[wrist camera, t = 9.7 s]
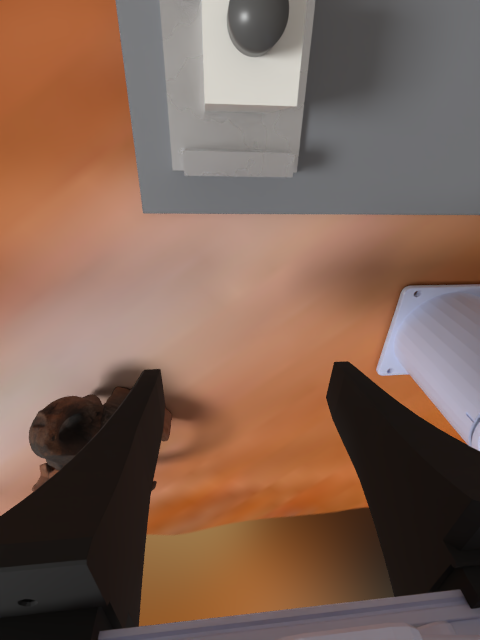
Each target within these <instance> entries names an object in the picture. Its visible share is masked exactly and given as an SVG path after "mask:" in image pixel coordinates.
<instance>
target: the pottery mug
mask: <svg viewBox="0 0 480 640" xmlns="http://www.w3.org/2000/svg"><path fill="white" fill-rule="evenodd" d="M130 391H131V390H129V389H126V388H122V387H116V388H115V390H114V391H113V393H112V395H111V397H109V398H108V400H107V402H106V403H105V404H104V405H102V403H101V401H100V399H99V398H98V397H97V396H95V395H93V394H92V395H87V396H85V397H83V398H81V397H77V396H69V397H63V398H60V399H58V400H56V401H54V402H52V403H50V404H49V405H48V406H46V407H45V408H44V409H43V410H41V411H39V412H38V414H37V416H36V417H35V419H34V420H33V423H32V425H31V427H30V430H29V442H30V446H31V448H32V450H33V452H34V453H35V454H36V455H38V456H39V457H41V458H45V459H46V462H47V463H45V464H42V465H40V471H41V476H40V478H39V480H38V482H37V483H36V484H35V485H34V486H33V488H32V491H35V490H37V489H38V488H39V487H40V486H41V485H43V484H44V483H45V482H46V481H47V480H49V479H50V478H51V477H52V476H53V475H55V474H56V473H57V472H58V471H59V470H60V469H62V468H63V467H64V466H65V465H66V464H67V463H68V462H69V461H70V460H71V459H72V458H73V457H74V456H75V455H76V454H78V453H79V452H80V451H81V450H82V449H83V448H84V447H85V446H86V445H87V443H88V442H89V441H90V440H91V439H92V438H93V437H94V436H95V435H96V434H97V433H98V432H99V430H100V429H101V428H102V427H103V426H104V425H105V423H106V422H107V421H108V420H109V419H110V417H111V416H112V415H113V414H114V412H115V411H116V410H117V409H118V407H119V406H120V404H121V403H122V402H123V400H124V399H125V398H126V396H127V395H128V393H129V392H130ZM171 420H172V415H171V413H170V412H169V411H168V410H167V409H166V408H165V417H164V428H163V434H162V439H161V440H162V441H167V440H168V438H169V435H170V428H171ZM156 483H157V482H156V481H153V483H152V489H151V491H152V490H153V489H154V488H155V487H156Z"/></svg>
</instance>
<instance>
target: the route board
mask: <svg viewBox="0 0 480 640" xmlns="http://www.w3.org/2000/svg"><path fill="white" fill-rule="evenodd" d="M116 7H117V15H118V23H119V30H120V38H121V46H122V53H123V61H124V69H125V77H126V84H127V92H128V100H129V107H130V115H131V123H132V131H133V138H134V146H135V154H136V161H137V169H138V177H139V185H140V192H141V200H142V208H143V213H183V214H389V215H480V0H315V9H314V18H313V27H312V37H311V46H310V55H309V64H308V73H307V83H306V92H305V101H304V110H303V119H302V129H301V138H300V147H299V156H298V165H297V173H293V177H233V176H184V171H180V170H173V169H172V156H171V143H170V130H169V117H168V104H167V91H166V78H165V65H164V52H163V39H162V26H161V13H160V1H159V0H116Z"/></svg>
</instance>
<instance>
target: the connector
mask: <svg viewBox="0 0 480 640" xmlns="http://www.w3.org/2000/svg"><path fill="white" fill-rule="evenodd" d="M201 2H202V34H203V67H204V99H205V111H214V112H248V113H271V112H275V111H279V110H283V109H288V108H292V107H296V106H297V99H298V89H299V78H300V68H301V57H302V47H303V36H304V25H305V15H306V4H307V0H201Z"/></svg>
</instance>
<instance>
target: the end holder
mask: <svg viewBox="0 0 480 640" xmlns="http://www.w3.org/2000/svg"><path fill="white" fill-rule="evenodd" d="M159 1H160V13H161V26H162V39H163V52H164V65H165V78H166V91H167V104H168V117H169V130H170V143H171V156H172V169H173V170H180V171H184V176H233V177H293V173H297V165H298V156H299V147H300V138H301V129H302V119H303V110H304V101H305V92H306V83H307V73H308V64H309V55H310V46H311V37H312V27H313V18H314V9H315V0H307V4H306V15H305V25H304V36H303V47H302V57H301V68H300V78H299V89H298V99H297V106H296V107H292V108H288V109H283V110H279V111H275V112H271V113H248V112H214V111H205V99H204V67H203V34H202V2H201V0H159Z"/></svg>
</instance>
